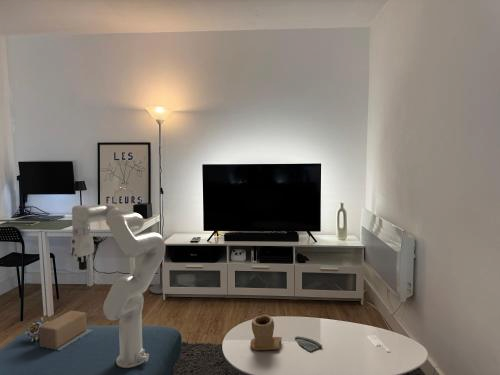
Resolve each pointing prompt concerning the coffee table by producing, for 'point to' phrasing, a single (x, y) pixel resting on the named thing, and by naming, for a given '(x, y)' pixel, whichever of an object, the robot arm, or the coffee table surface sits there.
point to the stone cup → (264, 334)
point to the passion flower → (35, 329)
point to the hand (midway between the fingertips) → (82, 269)
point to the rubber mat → (74, 339)
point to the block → (62, 329)
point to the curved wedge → (308, 344)
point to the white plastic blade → (377, 342)
